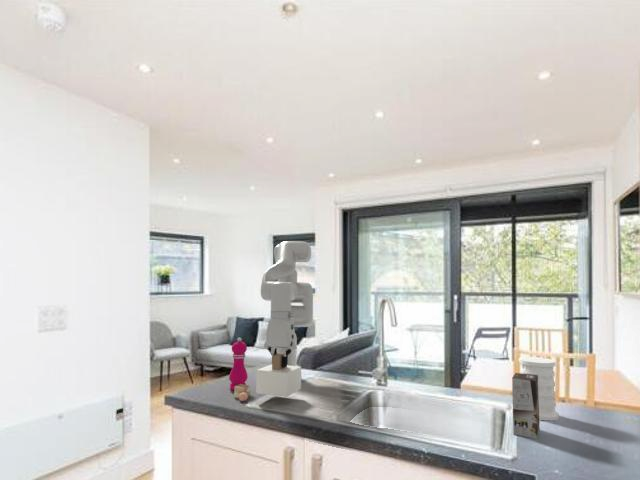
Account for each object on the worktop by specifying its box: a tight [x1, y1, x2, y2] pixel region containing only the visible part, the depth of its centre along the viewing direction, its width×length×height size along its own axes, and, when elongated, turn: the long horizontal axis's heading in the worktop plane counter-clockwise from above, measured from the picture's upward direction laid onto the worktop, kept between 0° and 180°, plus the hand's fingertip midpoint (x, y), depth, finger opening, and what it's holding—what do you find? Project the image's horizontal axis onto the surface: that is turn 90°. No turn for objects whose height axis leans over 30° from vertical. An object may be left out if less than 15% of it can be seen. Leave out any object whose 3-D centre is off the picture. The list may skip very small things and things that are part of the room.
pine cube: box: [233, 384, 251, 399], centre depth 155 cm, size 4×4×4 cm
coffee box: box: [511, 372, 540, 440], centre depth 123 cm, size 9×6×16 cm
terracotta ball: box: [238, 392, 249, 402], centre depth 149 cm, size 3×3×3 cm
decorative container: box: [518, 356, 560, 421], centre depth 139 cm, size 12×12×18 cm
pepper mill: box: [228, 337, 248, 391], centre depth 167 cm, size 7×7×20 cm
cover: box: [255, 353, 302, 398], centre depth 152 cm, size 12×12×13 cm
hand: (279, 366), depth 152 cm, fingers closed on cover, 3 cm apart
